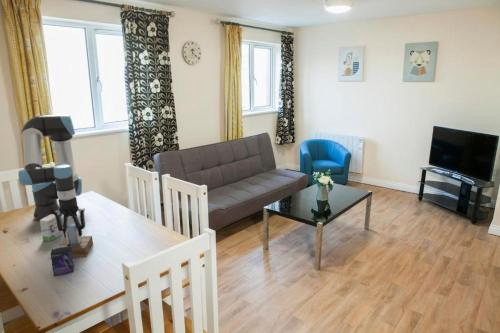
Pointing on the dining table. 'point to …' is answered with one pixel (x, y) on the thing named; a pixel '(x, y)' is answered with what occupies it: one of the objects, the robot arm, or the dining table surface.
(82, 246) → the socket
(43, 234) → the ink box
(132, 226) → the dining table surface
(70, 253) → the box
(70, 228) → the peg
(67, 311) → the dining table surface
